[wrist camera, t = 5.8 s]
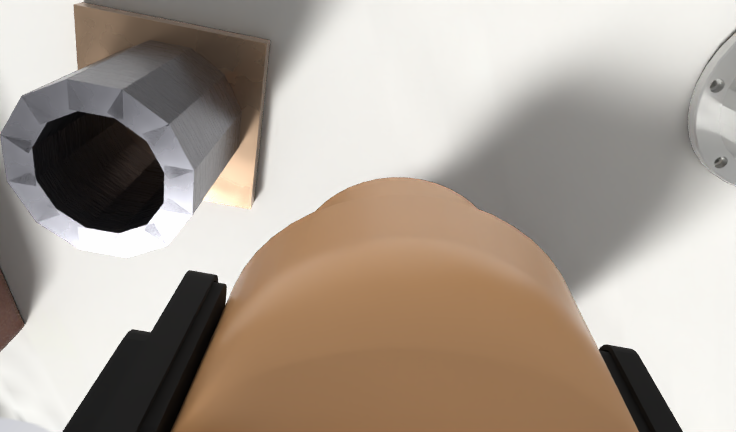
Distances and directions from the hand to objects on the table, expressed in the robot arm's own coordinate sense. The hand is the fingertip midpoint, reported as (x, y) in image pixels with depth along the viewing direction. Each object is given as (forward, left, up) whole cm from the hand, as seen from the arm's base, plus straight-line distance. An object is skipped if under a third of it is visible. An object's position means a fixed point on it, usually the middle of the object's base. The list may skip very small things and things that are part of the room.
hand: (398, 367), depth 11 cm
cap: (0, 0, -3) cm, 3 cm away
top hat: (+14, +6, -28) cm, 32 cm away
